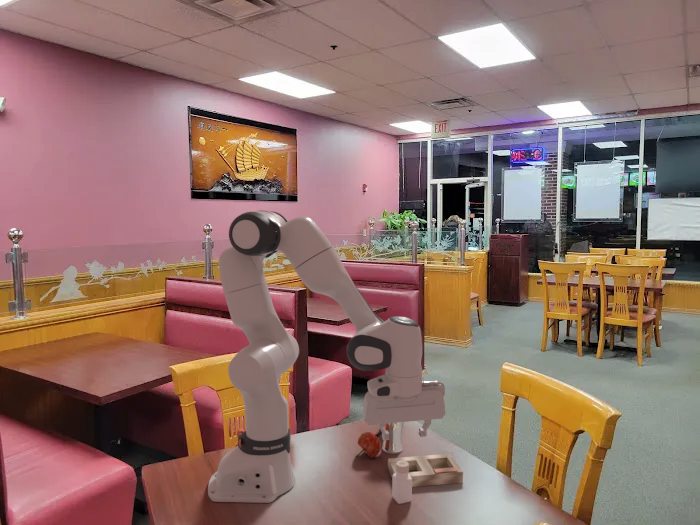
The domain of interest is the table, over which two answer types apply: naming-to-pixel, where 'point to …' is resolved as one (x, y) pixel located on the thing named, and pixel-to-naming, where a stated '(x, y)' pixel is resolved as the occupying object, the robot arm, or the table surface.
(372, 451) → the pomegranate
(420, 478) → the slot rack
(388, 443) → the beer glass
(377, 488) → the table surface
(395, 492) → the pepper shaker
